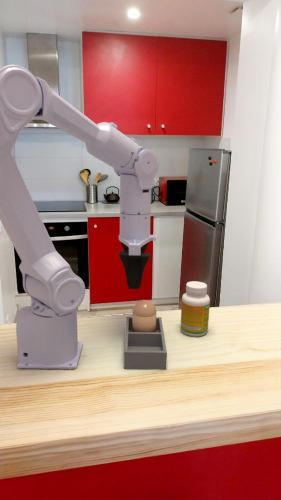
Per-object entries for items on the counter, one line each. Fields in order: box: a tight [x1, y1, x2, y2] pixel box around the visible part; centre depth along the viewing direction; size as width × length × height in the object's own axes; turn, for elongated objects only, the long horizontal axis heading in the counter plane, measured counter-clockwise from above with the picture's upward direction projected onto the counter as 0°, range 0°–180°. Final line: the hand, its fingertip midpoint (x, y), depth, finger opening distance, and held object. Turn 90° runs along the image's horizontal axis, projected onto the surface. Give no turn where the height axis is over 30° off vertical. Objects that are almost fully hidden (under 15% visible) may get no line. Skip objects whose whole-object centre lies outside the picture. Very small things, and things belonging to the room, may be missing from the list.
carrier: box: [123, 316, 168, 370], centre depth 64 cm, size 7×13×3 cm, turn 1°
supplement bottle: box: [179, 280, 211, 338], centre depth 70 cm, size 5×5×10 cm
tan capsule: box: [131, 299, 157, 332], centre depth 67 cm, size 4×4×7 cm
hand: (134, 281), depth 71 cm, fingers open, 7 cm apart
